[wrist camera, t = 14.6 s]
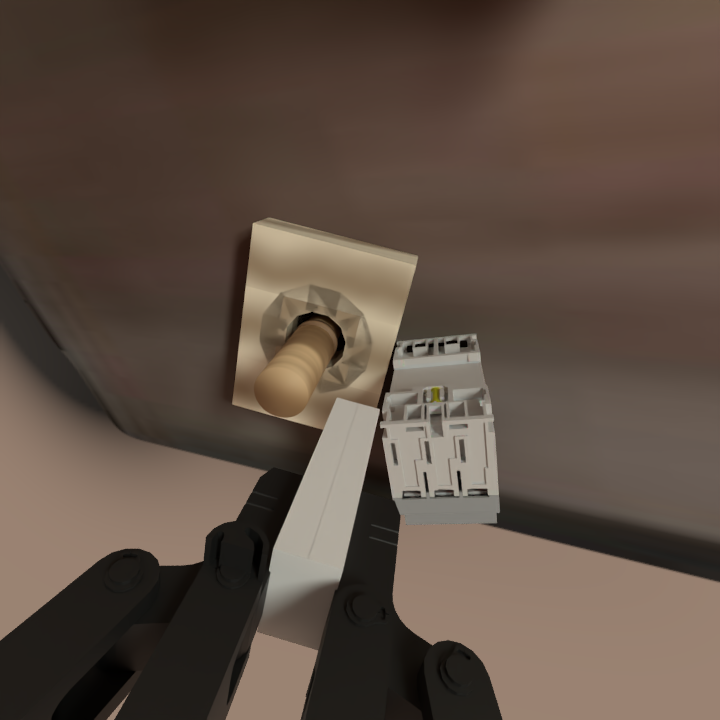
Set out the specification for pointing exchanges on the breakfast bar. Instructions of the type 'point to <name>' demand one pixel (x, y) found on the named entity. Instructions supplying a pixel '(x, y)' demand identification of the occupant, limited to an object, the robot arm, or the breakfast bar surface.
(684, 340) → the breakfast bar surface
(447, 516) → the circuit breaker
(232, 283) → the breakfast bar surface
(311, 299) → the board
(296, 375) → the peg
